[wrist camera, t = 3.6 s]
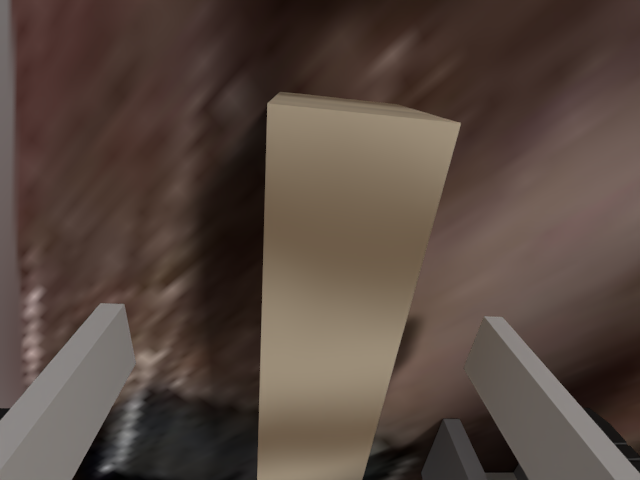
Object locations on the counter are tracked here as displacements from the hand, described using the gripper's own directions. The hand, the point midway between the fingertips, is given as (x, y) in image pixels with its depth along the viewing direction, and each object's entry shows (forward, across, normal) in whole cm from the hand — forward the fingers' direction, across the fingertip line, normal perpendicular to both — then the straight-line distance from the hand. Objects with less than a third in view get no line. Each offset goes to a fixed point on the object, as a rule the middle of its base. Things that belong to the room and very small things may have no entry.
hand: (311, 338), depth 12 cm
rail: (+3, 0, -2) cm, 3 cm away
